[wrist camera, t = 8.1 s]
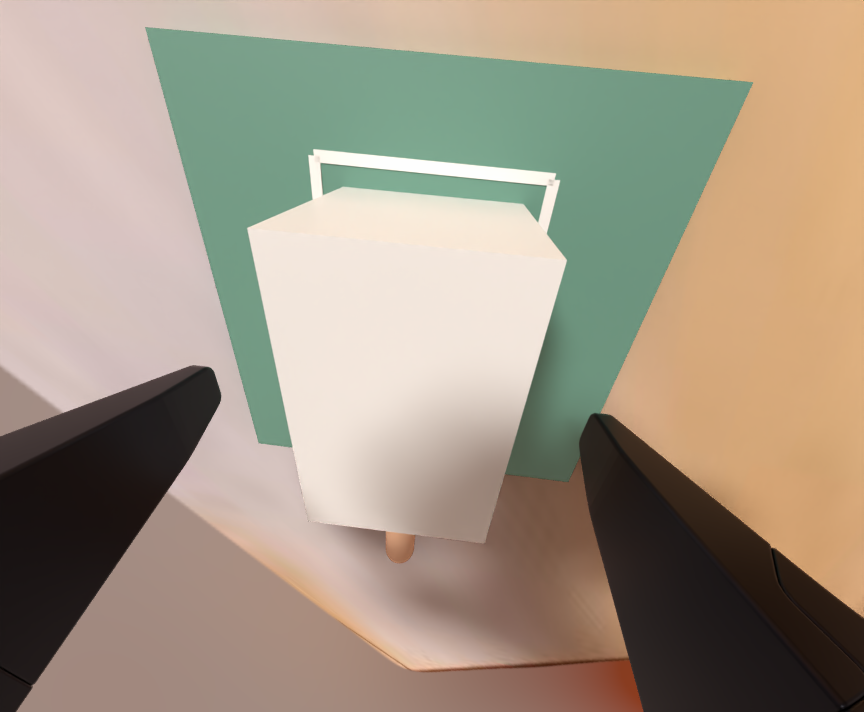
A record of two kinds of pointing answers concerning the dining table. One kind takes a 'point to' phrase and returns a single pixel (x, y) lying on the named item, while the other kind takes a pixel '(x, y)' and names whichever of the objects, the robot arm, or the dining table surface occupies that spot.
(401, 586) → the dining table surface
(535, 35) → the dining table surface
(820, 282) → the dining table surface
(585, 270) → the pin board
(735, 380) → the dining table surface
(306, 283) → the block
